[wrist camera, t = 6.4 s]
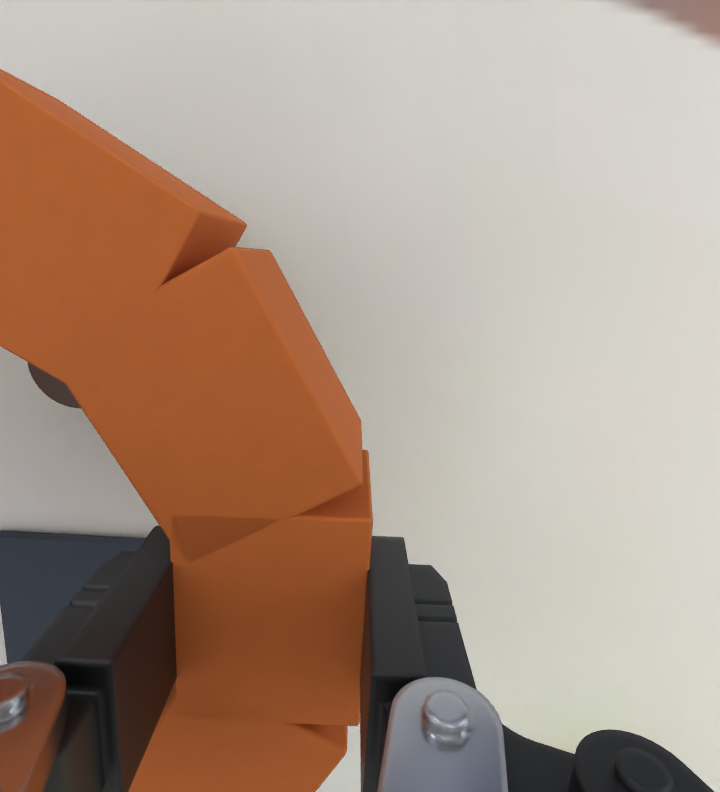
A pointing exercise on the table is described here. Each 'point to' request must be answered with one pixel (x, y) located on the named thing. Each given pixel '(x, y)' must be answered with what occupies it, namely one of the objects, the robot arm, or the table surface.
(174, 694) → the ring
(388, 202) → the table surface
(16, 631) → the mat
